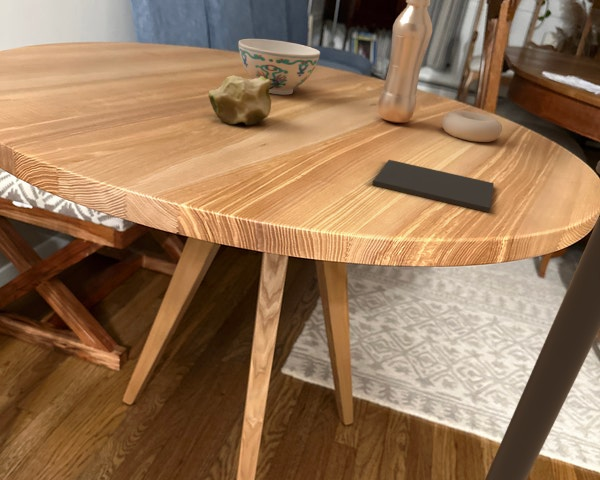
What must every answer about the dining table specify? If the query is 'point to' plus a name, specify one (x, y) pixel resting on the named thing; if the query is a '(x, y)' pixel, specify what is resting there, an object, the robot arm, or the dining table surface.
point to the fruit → (242, 100)
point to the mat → (435, 185)
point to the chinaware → (278, 62)
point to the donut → (471, 126)
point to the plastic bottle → (405, 62)
